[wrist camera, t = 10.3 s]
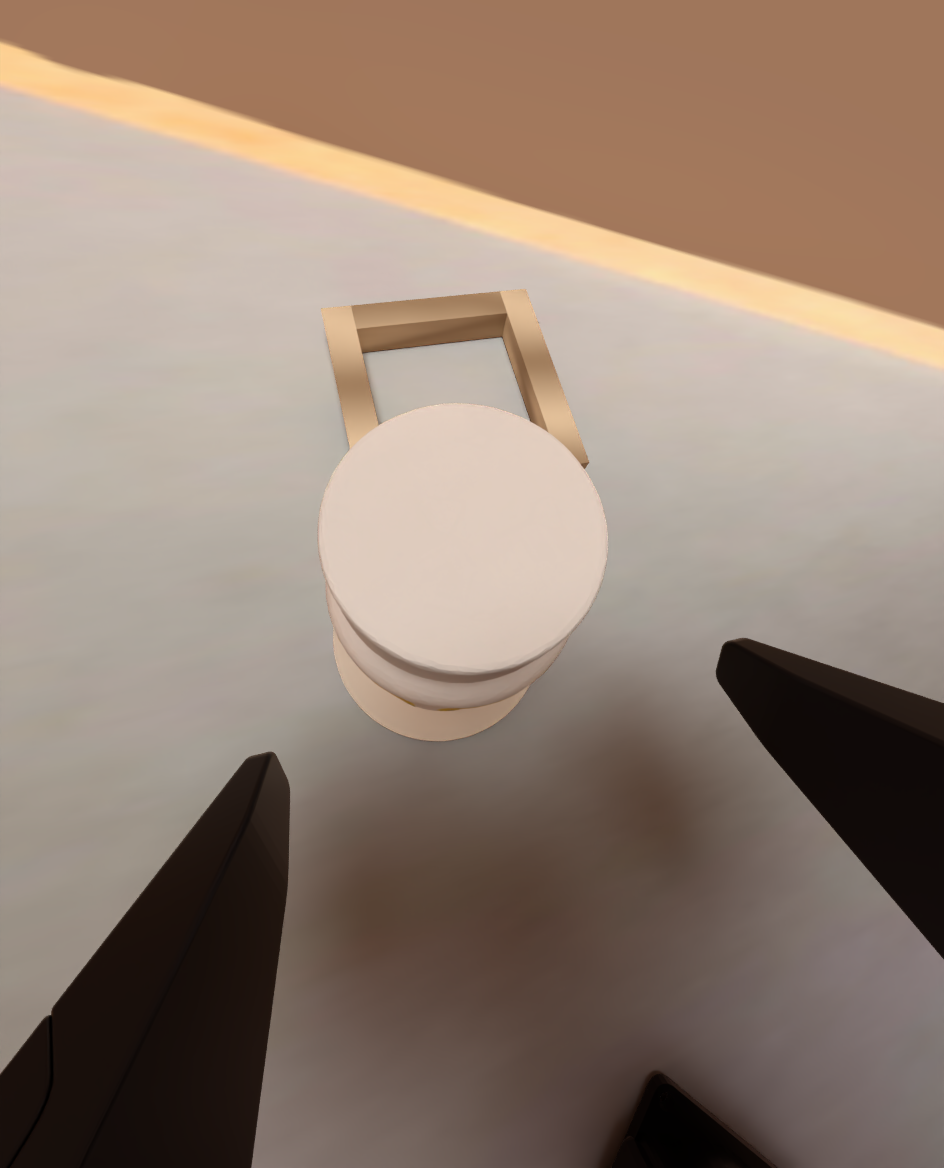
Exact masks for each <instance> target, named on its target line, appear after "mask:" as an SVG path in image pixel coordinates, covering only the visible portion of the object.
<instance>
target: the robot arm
mask: <svg viewBox="0 0 944 1168" xmlns="http://www.w3.org/2000/svg"><path fill="white" fill-rule="evenodd" d="M716 677H717V680H718V682H719V684H720V685H721V687H722V688H723V690H724V691H725V692H726V694H727V695H728V697H729V698H730V700H731V701H732V702H733V704H734V705H735V707H736V708H737V709H738V711H739V712H740V714H741V715H742V717H743V718H744V719H745V721H746V722H747V724H748V725H749V726H750V728H751V729H752V731H753V732H754V734H755V735H756V736H757V738H758V739H759V740H760V742H761V743H762V744H763V746H764V747H765V748H766V750H767V751H768V752H769V753H770V754H771V756H772V757H773V758H774V759H775V761H776V762H777V763H778V764H779V765H780V766H781V768H782V769H783V770H784V771H785V772H786V774H787V775H788V776H789V777H790V778H791V779H792V781H793V782H794V783H795V784H796V785H797V786H798V788H799V789H800V790H801V791H802V792H803V794H804V795H805V796H806V797H807V798H808V799H809V801H810V802H811V803H812V804H813V805H814V807H815V808H816V809H817V810H818V811H819V812H820V814H821V815H822V816H823V817H824V818H825V820H826V821H827V822H828V823H829V824H830V825H831V827H832V828H833V829H834V830H835V831H836V833H837V834H838V835H839V836H840V837H841V838H842V840H843V841H844V842H845V843H846V844H847V846H848V847H849V848H850V849H851V850H852V851H853V853H854V854H855V855H856V856H857V857H858V859H859V860H860V861H861V862H862V863H863V864H864V866H865V867H866V868H867V869H868V870H869V872H870V873H871V874H872V875H873V876H874V877H875V879H876V880H877V881H878V882H879V883H880V885H881V886H882V887H883V888H884V889H885V890H886V892H887V893H888V894H889V895H890V896H891V898H892V899H893V900H894V901H895V902H896V903H897V905H898V906H899V907H900V908H901V909H902V911H903V912H904V913H905V914H906V915H907V916H908V918H909V919H910V920H911V921H912V922H913V924H914V925H915V926H916V927H917V928H918V929H919V931H920V932H921V933H922V934H923V935H924V937H925V938H926V939H927V940H928V941H929V942H930V944H931V945H932V946H933V947H934V948H935V950H936V951H937V952H938V953H939V954H940V955H941V957H942V958H943V959H944V703H941V702H938V701H935V700H932V699H929V698H926V697H923V696H920V695H917V694H914V693H911V692H908V691H905V690H902V689H899V688H896V687H893V686H890V685H887V684H884V683H881V682H878V681H875V680H872V679H869V678H866V677H863V676H860V675H857V674H854V673H851V672H848V671H845V670H841V669H838V668H835V667H832V666H829V665H826V664H823V663H820V662H817V661H814V660H811V659H808V658H805V657H802V656H799V655H796V654H793V653H790V652H787V651H784V650H781V649H778V648H775V647H772V646H769V645H766V644H763V643H760V642H757V641H754V640H751V639H748V638H739V639H735V640H730V641H727V642H725V643H724V644H723V646H722V649H721V653H720V657H719V660H718V664H717V668H716ZM289 821H290V787H289V782H288V779H287V777H286V775H285V773H284V771H283V768H282V766H281V764H280V762H279V760H278V758H277V756H276V754H275V753H274V752H266V753H262V754H258V755H253V756H250V757H248V758H247V759H246V760H245V761H244V762H243V763H242V765H241V766H240V767H239V769H238V770H237V771H236V772H235V774H234V775H233V776H232V778H231V779H230V780H229V781H228V783H227V784H226V785H225V787H224V788H223V789H222V790H221V792H220V793H219V794H218V796H217V797H216V798H215V799H214V801H213V802H212V803H211V805H210V806H209V807H208V808H207V810H206V811H205V812H204V814H203V815H202V816H201V817H200V819H199V820H198V821H197V823H196V824H195V825H194V826H193V828H192V829H191V830H190V832H189V833H188V834H187V835H186V837H185V838H184V839H183V841H182V842H181V843H180V844H179V846H178V847H177V848H176V850H175V851H174V852H173V853H172V855H171V856H170V857H169V859H168V860H167V861H166V862H165V864H164V865H163V866H162V868H161V869H160V870H159V871H158V873H157V874H156V875H155V876H154V878H153V879H152V880H151V882H150V883H149V884H148V885H147V887H146V888H145V889H144V891H143V892H142V893H141V894H140V896H139V897H138V898H137V900H136V901H135V902H134V903H133V905H132V906H131V907H130V909H129V910H128V911H127V912H126V914H125V915H124V916H123V918H122V919H121V920H120V921H119V923H118V924H117V925H116V927H115V928H114V929H113V930H112V932H111V933H110V934H109V936H108V937H107V938H106V939H105V941H104V942H103V943H102V945H101V946H100V947H99V948H98V950H97V951H96V952H95V954H94V955H93V956H92V957H91V959H90V960H89V961H88V963H87V964H86V965H85V966H84V968H83V969H82V970H81V972H80V973H79V974H78V975H77V977H76V978H75V979H74V981H73V982H72V983H71V984H70V986H69V987H68V988H67V990H66V991H65V992H64V993H63V995H62V996H61V997H60V999H59V1000H58V1001H57V1002H56V1004H55V1005H54V1006H53V1008H52V1011H51V1015H48V1016H46V1017H45V1018H44V1019H43V1020H42V1021H41V1023H40V1024H39V1025H38V1026H37V1028H36V1029H35V1030H34V1032H33V1033H32V1034H31V1035H30V1037H29V1038H28V1039H27V1041H26V1042H25V1043H24V1044H23V1046H22V1047H21V1048H20V1050H19V1051H18V1052H17V1053H16V1055H15V1056H14V1057H13V1058H12V1060H11V1061H10V1062H9V1064H8V1065H7V1066H6V1067H5V1069H4V1070H3V1071H2V1072H1V1074H0V1168H251V1165H252V1157H253V1150H254V1142H255V1135H256V1127H257V1119H258V1112H259V1104H260V1096H261V1089H262V1081H263V1073H264V1066H265V1058H266V1050H267V1043H268V1035H269V1028H270V1020H271V1012H272V1005H273V997H274V989H275V982H276V974H277V966H278V959H279V951H280V943H281V936H282V928H283V921H284V913H285V905H286V897H287V887H288V864H289ZM666 1092H667V1097H666V1099H665V1100H664V1101H661V1102H660V1097H661V1095H662V1094H663V1093H666ZM612 1168H777V1167H776V1166H774V1165H773V1164H772V1163H771V1162H770V1161H768V1160H767V1159H766V1158H765V1157H764V1156H762V1155H761V1154H760V1153H759V1152H758V1151H756V1150H755V1149H754V1148H753V1147H751V1146H750V1145H749V1144H748V1143H747V1142H745V1141H744V1140H743V1139H742V1138H741V1137H739V1136H738V1135H737V1134H736V1133H735V1132H733V1131H732V1130H731V1129H730V1128H728V1127H727V1126H726V1125H725V1124H724V1123H722V1122H721V1121H720V1120H719V1119H718V1118H716V1117H715V1116H714V1115H713V1114H711V1113H710V1112H709V1111H708V1110H707V1109H705V1108H704V1107H703V1106H702V1105H701V1104H699V1103H698V1102H697V1101H696V1100H695V1099H693V1098H692V1097H691V1096H690V1095H688V1094H687V1093H686V1092H685V1091H684V1090H682V1089H681V1088H680V1087H679V1086H678V1085H676V1084H675V1083H674V1082H673V1081H672V1080H670V1079H669V1078H668V1077H666V1076H665V1075H663V1074H657V1075H655V1076H653V1077H652V1078H651V1080H650V1081H649V1083H648V1085H647V1088H646V1090H645V1092H644V1095H643V1097H642V1099H641V1102H640V1104H639V1106H638V1109H637V1111H636V1113H635V1116H634V1118H633V1120H632V1123H631V1125H630V1127H629V1130H628V1132H627V1134H626V1137H625V1139H624V1141H623V1143H622V1145H621V1147H620V1149H619V1152H618V1154H617V1156H616V1159H615V1161H614V1163H613V1166H612Z"/></svg>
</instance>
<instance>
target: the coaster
mask: <svg viewBox="0 0 944 1168" xmlns="http://www.w3.org/2000/svg"><path fill="white" fill-rule="evenodd" d="M333 646H334V654H335V660H336V664H337V667H338V671H339V674H340V676H341V678H342V681H343V683H344V685H345V687H346V689H347V690H348V692H349V693H350V695H351V697H352V698H353V699H354V701H355V702H356V703H357V704H358V705H359V707H360V708H361V709H362V710H363V711H364V712H365V713H366V714H367V715H369V716H370V717H371V718H372V719H373V720H375V721H376V722H378V723H379V724H381V725H382V726H383V727H385V728H387V729H389V730H391V731H393V732H395V733H398V734H401V735H404V736H407V737H410V738H414V739H419V740H425V741H447V740H456V739H460V738H464V737H468V736H471V735H473V734H476V733H479V732H481V731H483V730H485V729H487V728H489V727H490V726H492V725H494V724H495V723H497V722H498V721H499V720H501V719H502V718H503V717H505V716H506V715H507V714H508V713H509V712H510V711H511V710H512V709H513V708H514V707H515V706H516V705H517V704H518V702H519V701H520V700H521V698H522V697H523V696H524V694H525V693H526V691H527V689H528V687H529V686H530V685H529V686H527V687H526V688H524V689H523V690H521V691H520V692H519V693H517V694H515V695H513V696H511V697H509V698H507V699H505V700H502V701H500V702H497V703H493V704H490V705H486V706H481V707H476V708H468V709H460V710H454V711H433V710H426V709H422V708H419V707H414V706H412V705H410V704H408V703H406V702H404V701H402V700H401V699H399V698H397V697H396V696H394V695H392V694H391V693H389V692H387V691H386V690H384V689H382V688H381V687H380V686H378V685H377V684H375V683H374V682H373V681H372V680H371V679H370V678H368V677H367V676H366V675H365V674H364V673H363V672H362V671H361V670H360V669H359V668H358V666H357V665H356V664H355V663H354V662H353V660H352V659H351V658H350V657H349V655H348V654H347V652H346V651H345V649H344V647H343V646H342V644H341V642H340V641H339V639H338V637H337V634H336V632H335V629H334V630H333Z"/></svg>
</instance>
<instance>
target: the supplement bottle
mask: <svg viewBox="0 0 944 1168" xmlns="http://www.w3.org/2000/svg"><path fill="white" fill-rule="evenodd" d="M318 549H319V557H320V561H321V566H322V571H323V574H324V577H325V580H326V599H327V605H328V610H329V614H330V618H331V621H332V624H333V627H334V629H335V632H336V634H337V637H338V639H339V641H340V642H341V644H342V646H343V647H344V649H345V651H346V652H347V654H348V655H349V657H350V658H351V659H352V660H353V662H354V663H355V664H356V665H357V666H358V668H359V669H360V670H361V671H362V672H363V673H364V674H365V675H366V676H367V677H368V678H370V679H371V680H372V681H373V682H374V683H375V684H377V685H378V686H380V687H381V688H382V689H384V690H386V691H387V692H389V693H391V694H392V695H394V696H396V697H397V698H399V699H401V700H402V701H404V702H406V703H408V704H410V705H412V706H414V707H419V708H422V709H426V710H433V711H454V710H460V709H468V708H476V707H481V706H486V705H490V704H493V703H497V702H500V701H502V700H505V699H507V698H509V697H511V696H513V695H515V694H517V693H519V692H520V691H521V690H523V689H524V688H526V687H527V686H529V685H530V684H531V683H533V682H534V681H535V680H536V679H538V678H539V677H540V676H541V675H542V674H543V673H544V672H545V671H546V670H547V669H548V668H549V667H550V666H551V664H552V663H553V662H554V661H555V659H556V658H557V656H558V655H559V654H560V652H561V650H562V649H563V647H564V645H565V644H566V642H567V639H568V637H569V635H570V634H571V633H572V632H573V631H574V630H575V629H576V627H577V626H578V625H579V624H580V623H581V621H582V620H583V619H584V617H585V616H586V614H587V613H588V612H589V610H590V608H591V606H592V604H593V602H594V601H595V599H596V596H597V594H598V592H599V589H600V587H601V584H602V580H603V576H604V572H605V568H606V563H607V554H608V535H607V524H606V519H605V514H604V510H603V507H602V504H601V500H600V497H599V495H598V493H597V491H596V489H595V487H594V485H593V483H592V481H591V479H590V477H589V475H588V474H587V473H586V471H585V470H584V468H583V467H582V466H581V464H580V462H579V461H578V460H577V459H576V458H575V457H574V455H573V454H572V453H571V452H570V451H569V450H568V449H567V448H566V447H565V446H564V445H563V444H562V443H561V442H560V441H559V440H557V439H556V438H555V437H554V436H553V435H551V434H550V433H548V432H547V431H545V430H544V429H542V428H541V427H539V426H537V425H536V424H534V423H532V422H530V421H528V420H526V419H524V418H522V417H520V416H517V415H514V414H512V413H509V412H507V411H504V410H500V409H497V408H493V407H488V406H483V405H475V404H461V403H451V404H439V405H432V406H427V407H423V408H418V409H415V410H412V411H409V412H406V413H404V414H401V415H398V416H396V417H394V418H392V419H389V420H387V421H385V422H383V423H382V424H380V425H379V426H377V427H375V428H374V429H372V430H371V431H369V432H368V433H367V434H366V435H365V436H363V437H362V438H361V439H360V440H359V441H358V442H357V443H356V444H355V445H354V446H353V447H352V448H351V449H350V450H349V451H348V452H347V453H346V455H345V456H344V457H343V459H342V460H341V462H340V463H339V464H338V466H337V468H336V469H335V471H334V473H333V474H332V476H331V479H330V481H329V483H328V485H327V488H326V490H325V493H324V496H323V500H322V503H321V506H320V512H319V519H318Z"/></svg>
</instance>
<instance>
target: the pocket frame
mask: <svg viewBox="0 0 944 1168" xmlns="http://www.w3.org/2000/svg"><path fill="white" fill-rule="evenodd" d="M321 311H322V316H323V321H324V326H325V331H326V335H327V340H328V345H329V350H330V355H331V359H332V364H333V369H334V374H335V379H336V384H337V388H338V393H339V398H340V403H341V408H342V412H343V417H344V422H345V427H346V432H347V436H348V441H349V446H350V449H351V448H352V447H353V446H354V445H355V444H356V443H357V442H358V441H359V440H360V439H361V438H362V437H363V436H365V435H366V434H367V433H368V432H369V431H371V430H372V429H374V428H375V427H377V426H379V425H378V421H377V416H376V412H375V408H374V403H373V399H372V395H371V390H370V386H369V382H368V377H367V373H366V369H365V364H364V360H363V356H362V353H363V352H371V351H380V350H389V349H397V348H406V347H415V346H423V345H432V344H441V343H449V342H458V341H467V340H475V339H484V338H493V337H501V336H502V337H503V340H504V343H505V346H506V349H507V352H508V355H509V358H510V361H511V364H512V367H513V370H514V373H515V376H516V379H517V382H518V385H519V388H520V391H521V394H522V397H523V400H524V403H525V406H526V408H527V411H528V414H529V417H530V420H531V422H532V423H534V424H536V425H537V426H539V427H541V428H542V429H544V430H545V431H547V432H548V433H550V434H551V435H553V436H554V437H555V438H556V439H557V440H559V441H560V442H561V443H562V444H563V445H564V446H565V447H566V448H567V449H568V450H569V451H570V452H571V453H572V454H573V455H574V457H575V458H576V459H577V460H578V461H579V462H580V464H581V466H582V467H583V468H584V469H585V468H586V466H587V465H588V463H589V460H588V457H587V455H586V452H585V449H584V447H583V444H582V441H581V438H580V436H579V433H578V430H577V427H576V425H575V422H574V419H573V417H572V414H571V411H570V408H569V406H568V403H567V400H566V397H565V395H564V392H563V389H562V387H561V384H560V381H559V378H558V376H557V373H556V370H555V367H554V365H553V362H552V359H551V357H550V354H549V351H548V348H547V346H546V343H545V340H544V337H543V335H542V332H541V329H540V327H539V324H538V321H537V318H536V316H535V313H534V310H533V307H532V305H531V302H530V299H529V297H528V294H527V291H526V289H520V290H510V291H500V292H489V293H479V294H468V295H458V296H447V297H437V298H427V299H416V300H406V301H395V302H385V303H375V304H364V305H354V306H343V307H333V308H322V309H321Z"/></svg>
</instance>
